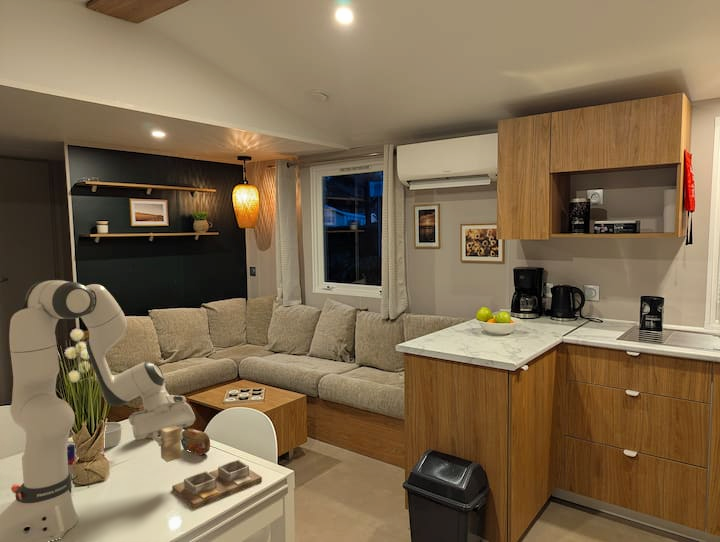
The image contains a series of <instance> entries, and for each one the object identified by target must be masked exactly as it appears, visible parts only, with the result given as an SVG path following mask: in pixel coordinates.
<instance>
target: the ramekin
mask: <svg viewBox="0 0 720 542" xmlns="http://www.w3.org/2000/svg"><path fill="white" fill-rule="evenodd" d="M105 423H106V425H107V427H106V431H105V449H104V450H107V449H110V448H109V447H111V448H113V447H115V446H117V445H118V444H119V443H120V442H121V440H122V430H123V425H122V423H120V422H116V421H113V422H112V421H110V422H105ZM106 448H107V449H106Z"/></svg>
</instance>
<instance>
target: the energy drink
mask: <svg viewBox="0 0 720 542" xmlns="http://www.w3.org/2000/svg"><path fill="white" fill-rule="evenodd" d="M74 442H75V441H71V440H70V441H68V445H67V457H68V472H69V474H70V476H71V481H73V480H72V474H73V469H74V465H75V463H76V462H77V463H78V456H77V455H76V451H77V449H76V450H75V444H76V443H75V444H74Z"/></svg>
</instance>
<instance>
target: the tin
mask: <svg viewBox="0 0 720 542" xmlns="http://www.w3.org/2000/svg"><path fill="white" fill-rule="evenodd" d="M182 436H183V439H182V440H180V441H181V446H182V448H183V450H185V451H186V450H189V451H191V452H193V453H192V454H194V453H196V454H195V455H197V454H198V455H197V456H203V455H204V454H207V453H208V452H209V451H210V449H211V440H210V437H209V435H208V434H207V433H206V432H204V431H201V430H196V429H195V428H189V429H184V430H182ZM191 452H190V453H191Z"/></svg>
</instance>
